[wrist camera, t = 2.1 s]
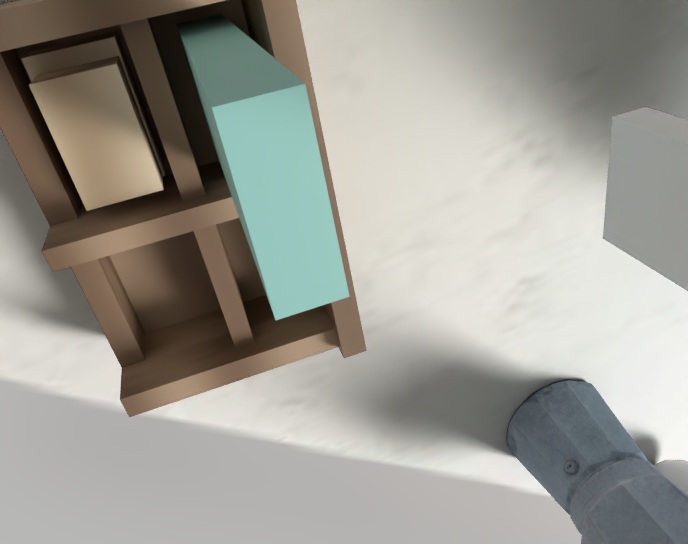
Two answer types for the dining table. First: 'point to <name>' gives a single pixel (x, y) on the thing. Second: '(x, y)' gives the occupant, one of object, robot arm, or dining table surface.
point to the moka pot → (596, 468)
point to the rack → (167, 206)
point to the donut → (675, 472)
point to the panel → (268, 163)
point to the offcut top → (98, 132)
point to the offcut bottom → (87, 53)
